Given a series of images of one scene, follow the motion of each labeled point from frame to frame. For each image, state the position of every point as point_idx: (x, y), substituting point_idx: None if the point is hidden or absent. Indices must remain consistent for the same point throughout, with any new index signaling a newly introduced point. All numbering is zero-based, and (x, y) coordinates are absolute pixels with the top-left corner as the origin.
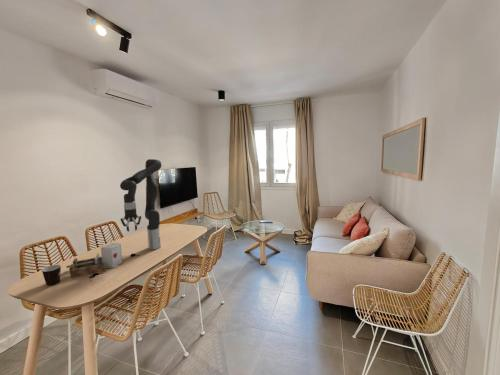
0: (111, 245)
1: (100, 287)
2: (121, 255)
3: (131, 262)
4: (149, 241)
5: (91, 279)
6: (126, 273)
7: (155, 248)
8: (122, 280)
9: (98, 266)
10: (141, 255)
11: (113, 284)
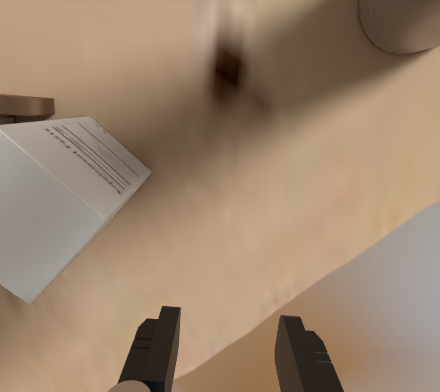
0: (16, 239)
1: (68, 383)
2: (137, 188)
3: (204, 201)
4: (403, 9)
5: None
6: None
7: (405, 53)
8: None
9: None
10: (278, 119)
11: None
